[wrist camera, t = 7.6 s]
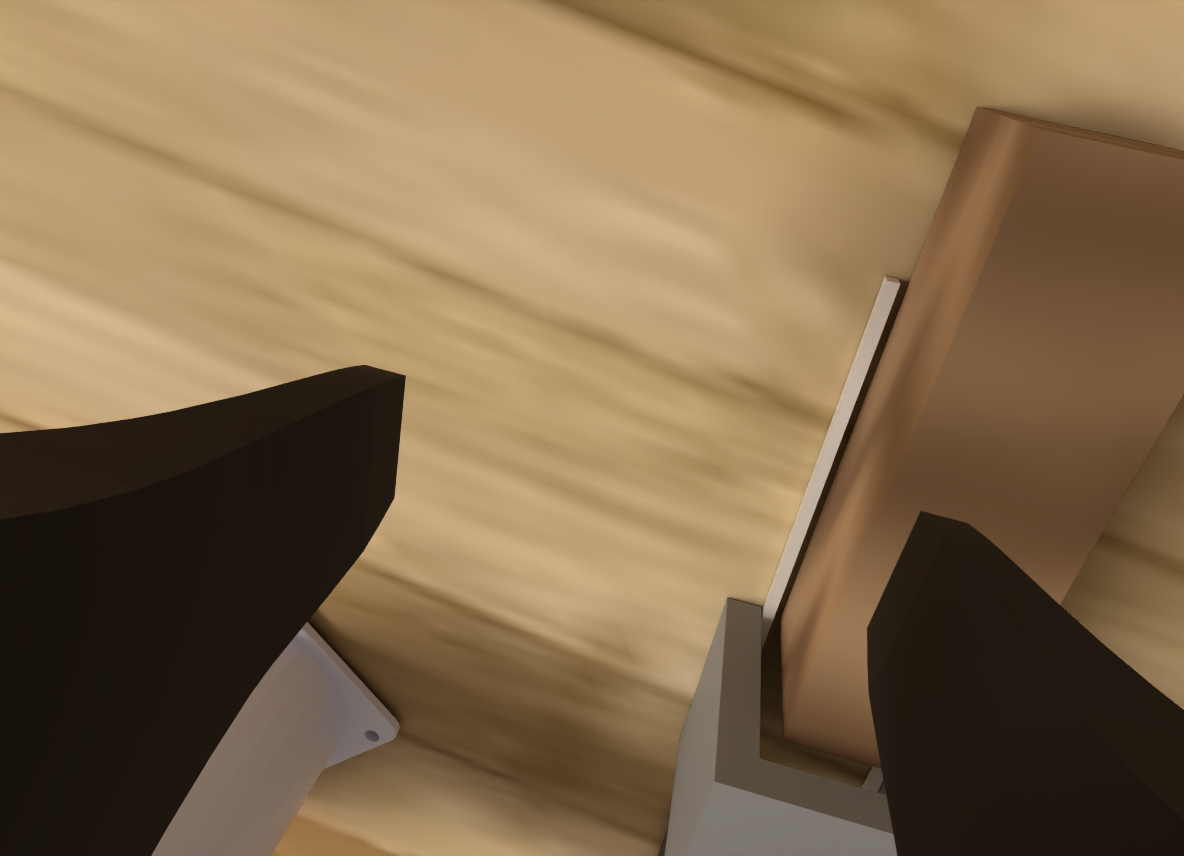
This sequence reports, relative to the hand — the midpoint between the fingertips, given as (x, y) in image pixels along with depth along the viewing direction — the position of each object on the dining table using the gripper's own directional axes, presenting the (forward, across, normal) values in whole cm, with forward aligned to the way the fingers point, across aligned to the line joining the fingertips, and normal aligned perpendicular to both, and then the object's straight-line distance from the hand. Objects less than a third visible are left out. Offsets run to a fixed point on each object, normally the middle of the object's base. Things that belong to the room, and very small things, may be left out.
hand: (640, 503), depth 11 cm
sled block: (+10, -7, +2) cm, 12 cm away
